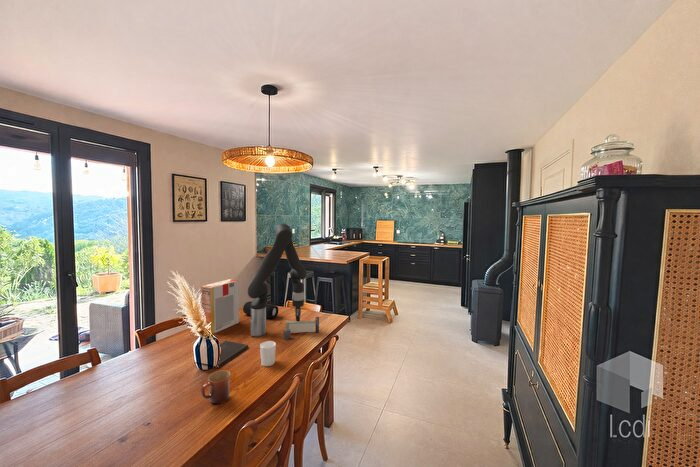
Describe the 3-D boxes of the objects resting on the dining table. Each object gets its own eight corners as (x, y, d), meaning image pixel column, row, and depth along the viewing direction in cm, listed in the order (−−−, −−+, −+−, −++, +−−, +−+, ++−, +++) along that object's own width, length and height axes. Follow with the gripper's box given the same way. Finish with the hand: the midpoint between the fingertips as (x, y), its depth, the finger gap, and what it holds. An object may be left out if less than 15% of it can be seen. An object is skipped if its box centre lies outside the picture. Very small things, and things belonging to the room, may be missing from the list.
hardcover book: (193, 363, 148) (193, 359, 148) (225, 344, 170) (225, 340, 170) (218, 369, 143) (218, 364, 143) (248, 348, 165) (248, 344, 165)
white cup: (279, 361, 151) (279, 342, 150) (268, 368, 144) (268, 349, 143) (267, 357, 154) (267, 339, 153) (256, 364, 147) (256, 345, 146)
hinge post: (315, 333, 187) (316, 318, 186) (314, 331, 189) (315, 316, 188) (319, 332, 187) (319, 317, 187) (318, 331, 190) (318, 316, 189)
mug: (222, 390, 125) (222, 367, 125) (235, 397, 121) (235, 374, 120) (195, 405, 115) (195, 381, 115) (208, 414, 111) (208, 388, 110)
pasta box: (230, 320, 205) (230, 279, 203) (239, 322, 202) (238, 280, 200) (202, 332, 185) (201, 286, 182) (211, 334, 181) (210, 287, 179)
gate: (314, 331, 189) (315, 320, 188) (314, 332, 187) (315, 321, 187) (286, 332, 186) (286, 321, 186) (286, 333, 185) (286, 322, 184)
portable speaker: (279, 316, 216) (279, 303, 215) (271, 320, 206) (271, 307, 206) (250, 311, 224) (250, 299, 223) (242, 316, 215) (242, 303, 214)
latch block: (284, 339, 176) (284, 331, 176) (283, 337, 179) (283, 330, 178) (290, 338, 178) (290, 330, 177) (289, 337, 180) (289, 329, 180)
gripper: (303, 301, 182) (303, 328, 183) (304, 295, 195) (304, 320, 196) (291, 301, 181) (291, 328, 182) (293, 295, 194) (292, 320, 195)
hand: (298, 324), depth 189 cm, fingers closed
